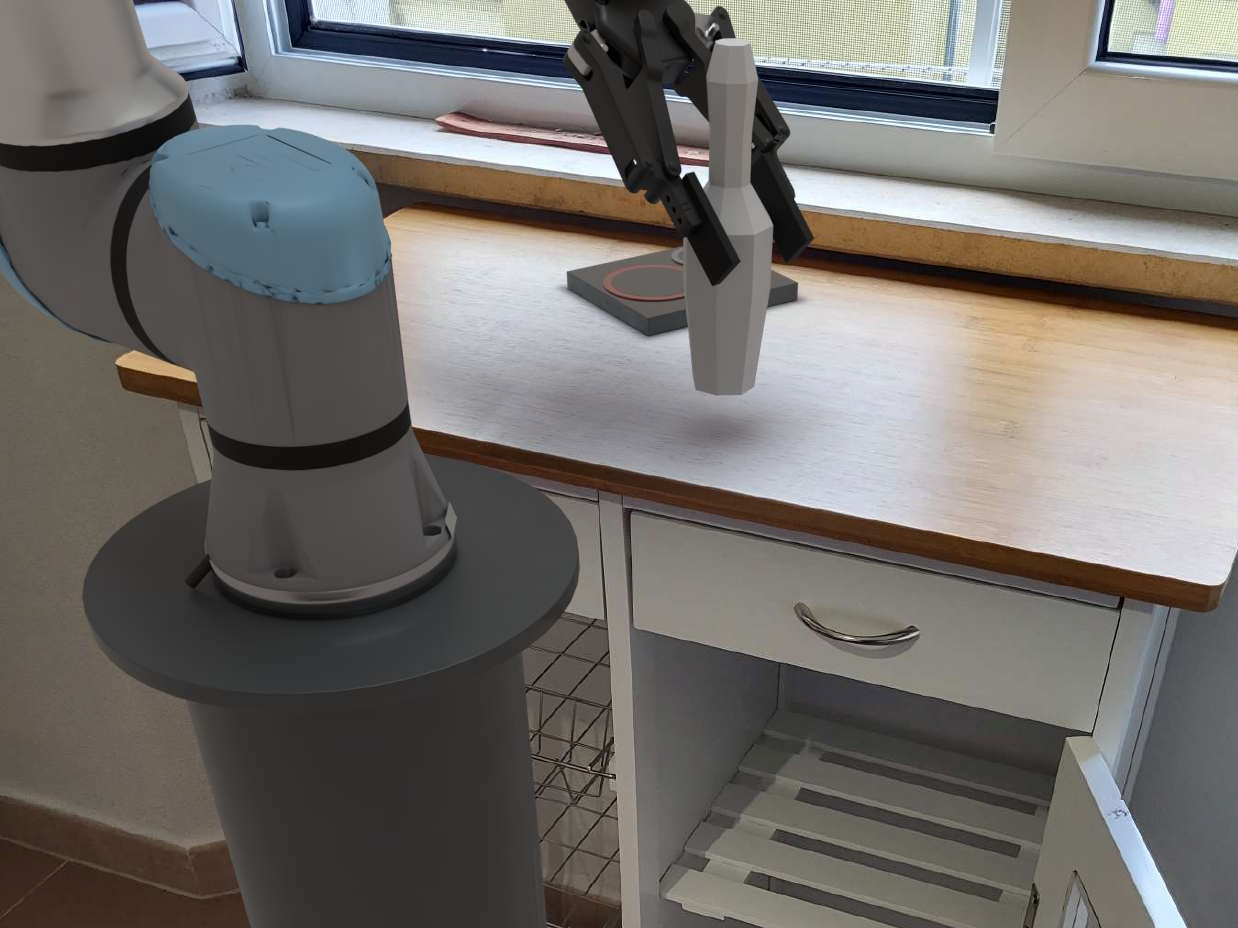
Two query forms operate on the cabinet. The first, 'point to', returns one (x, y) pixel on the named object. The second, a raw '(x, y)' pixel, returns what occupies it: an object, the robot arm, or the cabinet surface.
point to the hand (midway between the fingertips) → (763, 262)
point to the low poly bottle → (730, 235)
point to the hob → (652, 289)
